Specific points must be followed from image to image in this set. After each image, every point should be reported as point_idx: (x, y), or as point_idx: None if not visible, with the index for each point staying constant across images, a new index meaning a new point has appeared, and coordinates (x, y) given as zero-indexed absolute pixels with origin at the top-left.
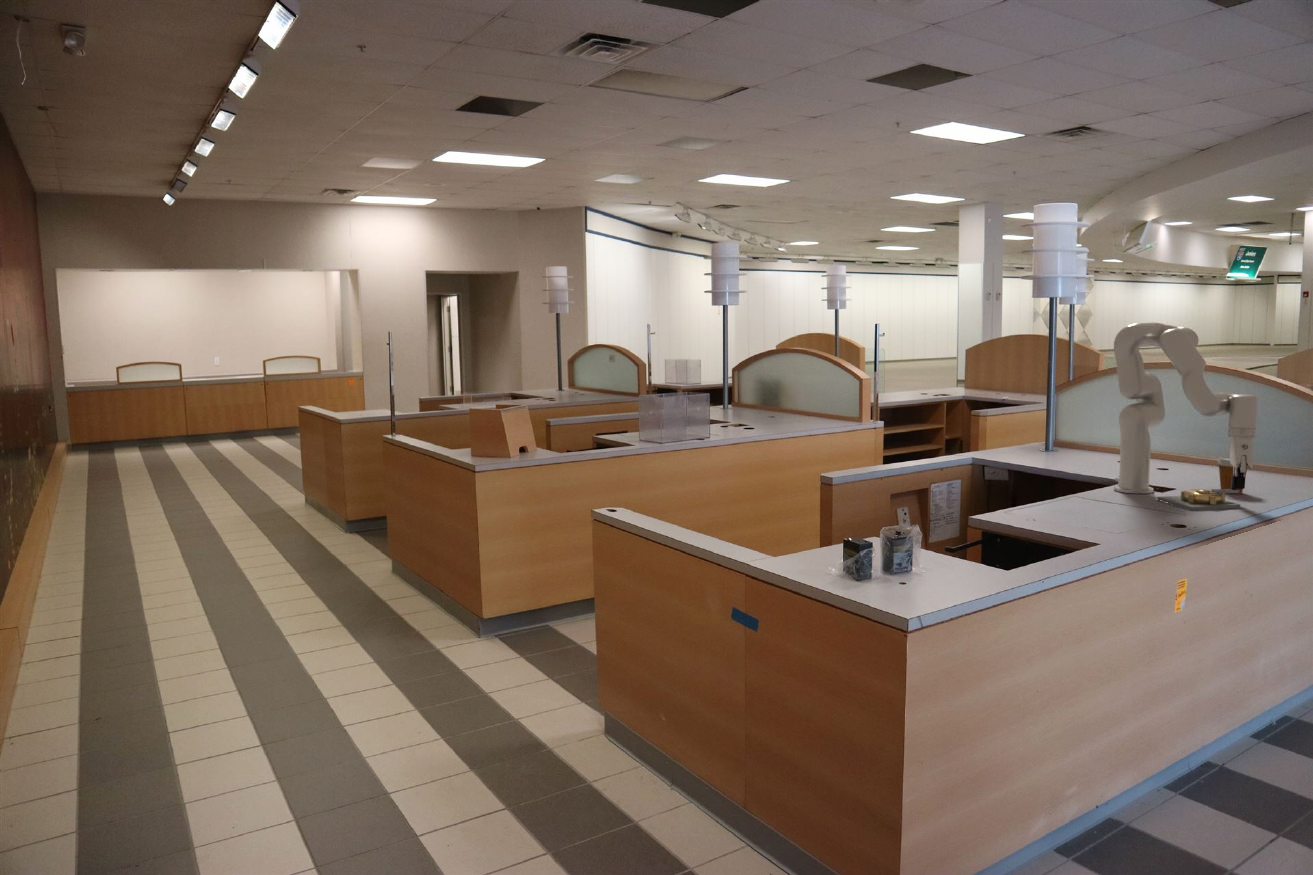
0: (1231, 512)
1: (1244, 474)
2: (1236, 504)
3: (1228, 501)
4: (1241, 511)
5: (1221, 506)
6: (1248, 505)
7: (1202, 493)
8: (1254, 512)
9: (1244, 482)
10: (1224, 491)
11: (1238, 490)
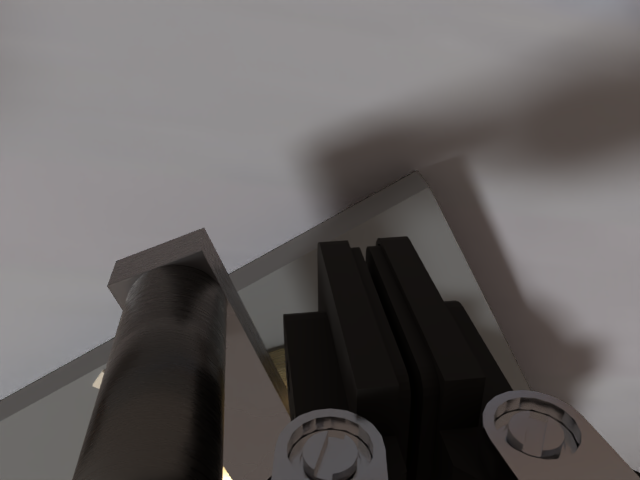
0: (632, 265)
1: (600, 459)
2: (427, 223)
3: (263, 280)
4: (580, 178)
5: (507, 344)
6: (204, 53)
7: None
8: (625, 59)
9: (436, 301)
10: (284, 400)
11: (210, 258)
